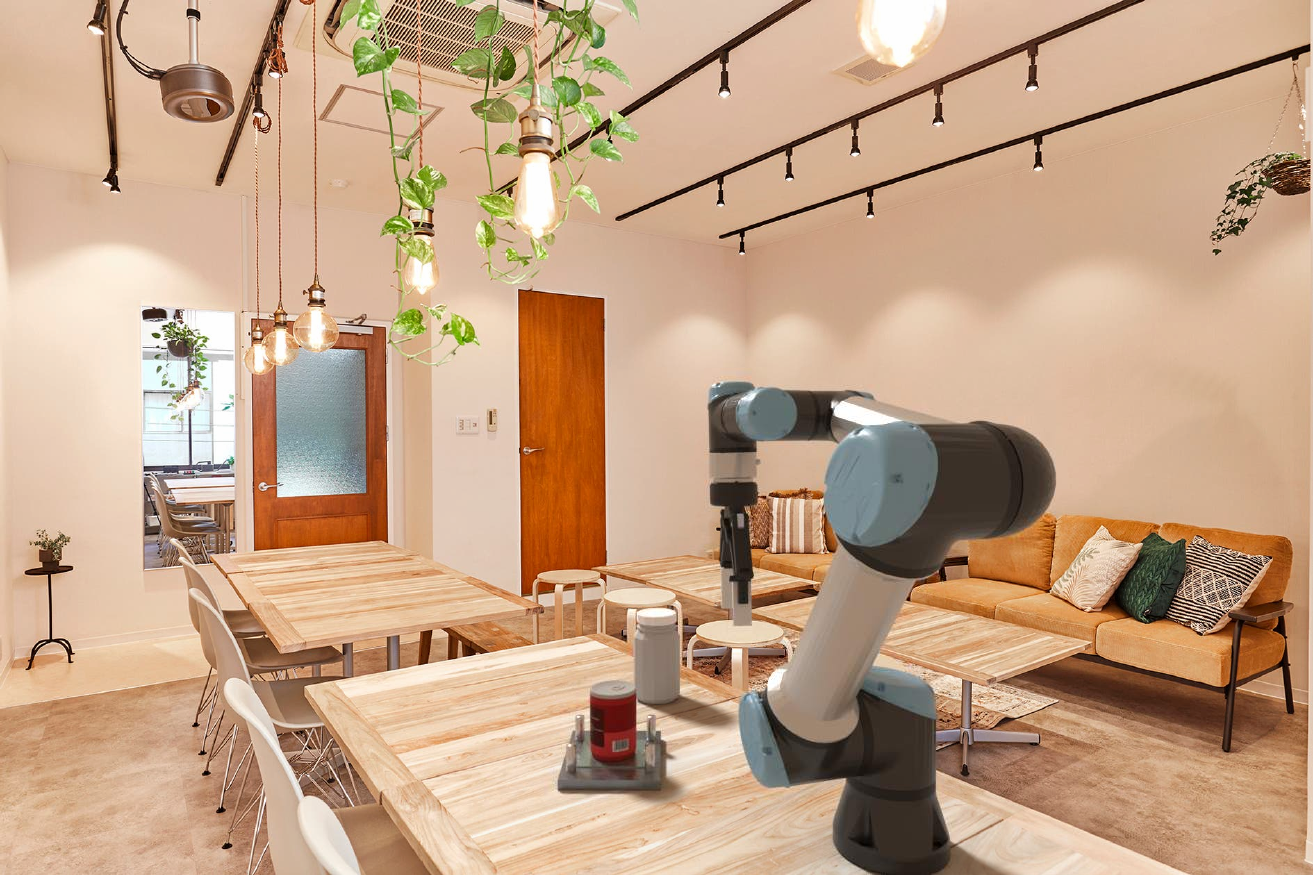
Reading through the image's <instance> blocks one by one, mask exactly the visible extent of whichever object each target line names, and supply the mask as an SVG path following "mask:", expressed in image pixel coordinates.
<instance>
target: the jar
mask: <svg viewBox="0 0 1313 875" xmlns="http://www.w3.org/2000/svg"><path fill="white" fill-rule="evenodd" d="M636 622H637V623H638V624H636V630H635V632H634V633H633V684H634V685H635V686H636V697H637V698H636V700H638V701H639V702H641V703H643V704H649V705H666V704H669V703H673V702H674V701H675V700H676V699H677V698H678V697H679V695H680V694H681V661H680V660H681V636H680V634H679V633H678V631H677V630H676V629H677V624H676V622H677V612H676V610H673V609H670V608H664V607H649V608H643V609H640V610H638V611H636Z"/></svg>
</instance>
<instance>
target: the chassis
mask: <svg viewBox="0 0 1313 875" xmlns="http://www.w3.org/2000/svg"><path fill="white" fill-rule="evenodd" d="M574 717H575V720H574V721H575V730H572V732H571V736H570V739H569V743H567V744H566V745H565V747H566V748H565V749H566V750H565V754H564V758H563V761H562V763H561V767H560V770H559V773H558V774H559V775H558V777H557V790H559V791H560V790H561V791H562V790H563V791H564V790H565V791H566V790H567V791H573V790H574V791H575V790H576V791H584V790H585V791H586V790H587V791H593V790H595V791H596V790H598V791H616V790H617V791H661V769H662V768H661V767H662V766H661V765H662V764H661V759H662V758H661V756H662V730H657V728H656V727H657V725H656V724H657V716H656V715H655V714H647V715H646V730H636V750H635V753H634V754H633V755H632V756H631V757H629V758H627V759H625V760H621V761H602V760H599V759H596V758H595V757H593V755H592V753H591V750H590V730H585V715H584V714H576V715H575V716H574Z"/></svg>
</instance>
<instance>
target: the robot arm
mask: <svg viewBox="0 0 1313 875" xmlns="http://www.w3.org/2000/svg"><path fill="white" fill-rule="evenodd" d="M707 400H708V402H707V405H706V407H707V411H708V415H707V416H708V446H709V448H708V449H709V452H708V476H709V478H710V479H712V482H710V484H709V504H710V505H711V506H713V507H724V508H720V512H719V514H720V518H719V519H720V520H719V524H720V531H719V532H720V534H719V552H718V553H719V555H718V561H719V566H720V602H721V603H720V606H721V607H720V608H721V609H724V610H726V609H728V610H729V609H732V626H733V627H744V626H745V627H750V626H751V627H752V624H753V623H752V622H753V620H752V619H753V618H752V617H753V616H752V615H753V611H752V579H754V578H755V577H754V576H755V573H754V568H753V557H752V556H753V555H752V546H751V536H750V534H751V533H750V516H749V513H745V510H744V507H754V506H756V505H757V504H758V502H759V501H758V500H759V496H758V493H759V489H758V487H759V486H758V483H757V482H756V481H754V479H756V478H757V477H758V467H757V466H759V465H761V459H759V458H757V453H758V451H757V450H758V444H757V442H789V441H790V442H792V441H793V442H797V441H798V442H803V441H804V442H805V441H806V442H809V441H812V442H813V441H815V442H816V441H817V442H819V441H820V442H821V441H824V442H832V443H835V444H838V445H837V446H836V447H835V449H834V451H833V453H832V455H831V457H830V459H829V461H828V464H827V467H826V471H825V476H824V485H826V491H825V492H824V493H823V505H824V510H825V514H826V518H827V521H828V523H829V525H830V527H831V528H832V532H833V536H834V538H835V540H836V542H837V544H838V545H837V547H836V550H835V552H834V555H833V558H832V560H831V563H830V565H829V567H828V570H827V572H826V575H825V577H824V580H823V581H822V585H821V586H820V588H819V592H818V593H817V596H816V598H815V601H814V603H813V606H812V608H811V611H810V613H809V615H808V618H807V620H806V621H805V625H804V627H803V629H802V631H801V634H800V637H799V640H798V642H797V644H796V646H795V648H794V652H793V653H792V656H791V658H790V661H789V662H788V661H787V662H786V663H783V664H782V665H780V666H779V667H777V668H776V669H775V670H774V671H773V672H772V673H771V675H770V677H769V680H768V682H767V684H766V687H765V689H764V690H761V691H757V690H756V689H753V690H751V691H749V692H746V693H744V694H742V696H741V698H740V700H739V703H738V704H739V705H738V726H739V734H740V740H741V744H742V748H743V752H744V755H745V759H746V761H747V765H748V767H749V769H750V771H751V773H752V775H753V776H754V778H755V780H756V781H757V782H758V783H759V784H760V785H761V786H763V787H765V788H768V789H772V788H785V789H789V788H791V787H796V786H797V787H798V786H803V785H810V784H816V783H817V784H818V783H823V782H828V781H829V782H830V781H835V780H843V779H845V784H844V786H843V789H842V792H841V795H840V798H839V801H838V803H837V804H838V805H837V808H836V810H835V813H834V817H833V820H832V843H833V845H834V847H835V849H836V850H837V851H838V853H840V854H841V855H842V856H843V857H844V858H845V859H847V860H848V861H850V862H852V863H853V864H855V865H858V866H859V867H860V868H864V869H865V870H866V869H867V870H869V871H872V872H876V873H878V874H885V875H930V874H931V875H932V874H933V873H937V871H940V870H942V869H943V868H945V867H947V865H948V863H949V861H950V860H951V837H950V832H949V830H948V826H947V823H946V821H945V818H944V814H943V812H942V808H941V804H940V801H939V798H938V796H937V720H938V714H937V713H938V711H937V704H936V694H935V691H934V688H933V686H931V684H930V683H929V682H927V681H926V680H925V679H923V678H921V677H919V676H917V675H915V674H912V673H909V672H906V671H903V670H899V669H895V668H890V667H887V666H886V667H884V666H878V665H874V663H875V661H876V659H877V658H878V655H879V653H880V651H881V649H882V648H883V645H884V643H885V641H886V640H887V637H888V636H889V634H890V631H891V630H892V628H893V626H894V624H895V622H896V621H897V618H898V616H899V614H900V612H901V611H902V609H903V607H904V604H905V603H906V601H907V598H908V597H909V595H910V592H912V590H913V587H914V585H915V583H916V581H922V580H925V579H929V578H931V577H932V576H934V575H936V574H937V572H938V571H939V570H941V567H942V565H943V564H944V563H945V560H946V558H947V557H948V555H949V552H950V550H952V547H953V545H954V544H955V543H957V542H959V541H972V540H990V539H1000V538H1001V539H1003V538H1005V537H1009V536H1013V535H1016V534H1019V533H1021V532H1023V531H1024V530H1026V529H1028V528H1030V527H1032V526H1033V525H1034V524H1036V523H1037V521H1038V520H1039V519H1040V518H1042V517H1043V515H1044V514H1045V513H1046V511H1047V510H1048V509H1049V507H1050V505H1051V503H1052V501H1053V499H1054V496H1055V490H1056V487H1057V472H1056V468H1055V463H1054V460H1053V458H1052V456H1051V454H1050V452H1049V450H1048V449H1047V447H1045V445H1044V444H1043V442H1042V441H1040V440H1039V439H1038V438H1037V437H1036V436H1034V435H1033V434H1032V433H1030V432H1028V431H1027V430H1025V429H1022V428H1019V426H1018V427H1017V426H1014V425H1010V424H1003V423H996V422H991V421H987V420H980V419H978V420H971V421H968V422H964V423H959V422H955V421H952V420H949V419H945V418H942V417H937V416H934V415H931V414H926V413H924V412H923V413H922V412H918V411H915V410H913V409H907V408H904V407H899V406H896V405H893V404H889V403H886V402H881V401H878V400H877V399H875V397H874V395H873V394H872V393H869V392H866V391H858V390H852V389H851V390H850V389H844V390H806V389H805V390H802V389H801V390H800V389H781V388H779V387H773V386H768V387H765V386H760V387H755V385H754V384H753V383H752V382H750V381H723V382H715V383H713V384H712V385H710V386H709V389H708V399H707Z"/></svg>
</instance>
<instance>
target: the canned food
mask: <svg viewBox="0 0 1313 875" xmlns="http://www.w3.org/2000/svg"><path fill="white" fill-rule="evenodd" d="M589 689H590V690H589V731H590V750H591V753H592V755H593V757H595V758H596V759H599V760H602V761H621V760H625V759H627V758H629V757H631V756H632V755H633V754H634V753H635V750H636V731H637V697H636V686H635V685H634V682H630V681H626V680H620V679H619V680H618V679H617V680H614V679H613V680H604V681H600V682H597V683H595V684H593V685H592V686H590V688H589Z"/></svg>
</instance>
